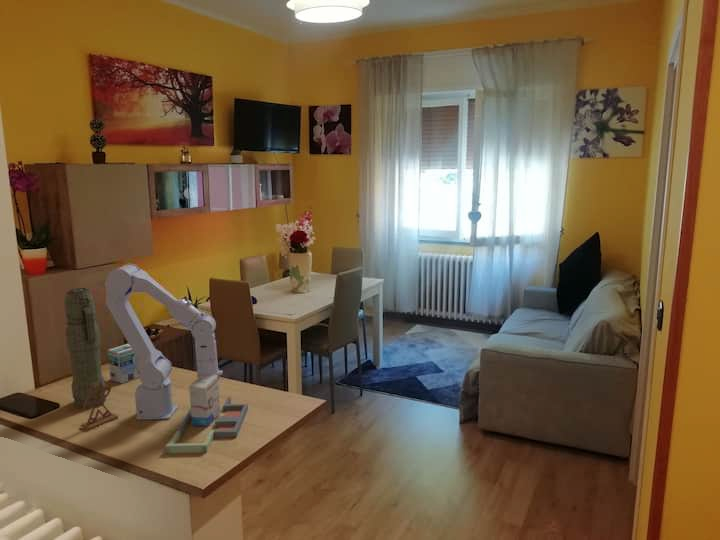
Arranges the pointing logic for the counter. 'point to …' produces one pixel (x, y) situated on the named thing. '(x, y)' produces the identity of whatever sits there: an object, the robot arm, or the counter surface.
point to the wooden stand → (106, 416)
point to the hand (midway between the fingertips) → (210, 402)
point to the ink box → (204, 400)
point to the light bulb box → (123, 364)
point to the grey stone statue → (83, 346)
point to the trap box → (226, 428)
